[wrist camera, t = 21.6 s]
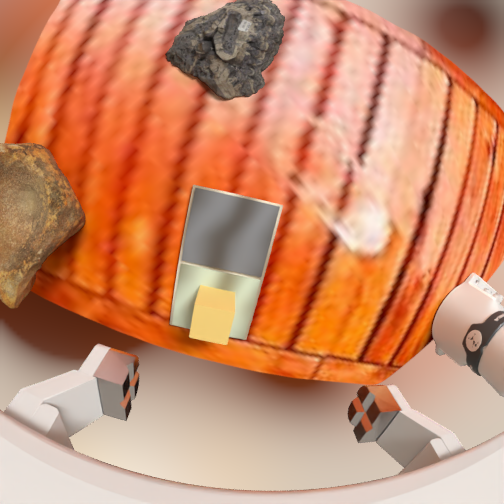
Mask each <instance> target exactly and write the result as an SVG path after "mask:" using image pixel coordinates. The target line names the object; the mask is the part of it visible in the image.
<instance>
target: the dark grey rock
mask: <svg viewBox="0 0 504 504" xmlns="http://www.w3.org/2000/svg"><path fill="white" fill-rule="evenodd" d="M271 2H272V1H270V0H237V1H236V2H231V3H227V4H226V5H225V6H224V7H222V8H219V9H218V10H216V11H214V12H212V13H210V14H208V15H206V16H200V17H198V18H194V19H192V20H189V21H187V22H186V23H185V26H184V27H183V29H182V31H181V32H180V33H179V35H177V36H176V37H175V39H174V43H173V45H172V47H171V48H170V49H169V51H168V52H167V53H166V55H167V60H168V61H171V63H172V64H173V65H175V66H177V67H178V68H180V69H181V70H182V71H183V72H185V73H188V74H193V76H194V77H198V78H199V79H200V80H201V81H203V82H205V83H206V84H207V85H208V86H209V87H210V88H211V89H212V90H213V91H214V92H215V93H216V94H217V95H218V96H221V97H223V98H225V99H233V98H234V97H237V96H244V95H245V96H247V97H250V96H251V95H252V94H255V93H257V92H258V90H259V89H260V88H262V87H264V85H265V82H264V79H263V77H262V75H261V72H262V71H264V70H265V69H266V68H267V67H268V66H269V65H270V64H271V63H272V61H273V59H274V57H273V56H274V55H276V54H277V53H278V49H279V45H280V44H281V43H282V38H283V36H284V34H283V33H284V31H283V30H282V28H283V26H284V21H285V17H284V16H283V15H281V13H280V10H279V9H278V8H277V6H276V5H275V4H273V3H271Z"/></svg>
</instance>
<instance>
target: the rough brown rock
mask: <svg viewBox="0 0 504 504" xmlns="http://www.w3.org/2000/svg"><path fill="white" fill-rule="evenodd" d="M84 224H85V214H84V212H83V210H82V207H81V205H80V203H79V201H78V199H77V197H76V195H75V193H74V191H73V189H72V188H71V186H70V183H69V181H68V180H67V178H66V177H65V176H64V174H63V173H62V172H61V170H60V169H59V168H58V166H57V163H56V161H55V159H54V157H53V155H52V154H51V152H50V150H48V149H46V148H45V147H43V146H42V145H39V144H34V143H23V144H6V143H5V144H1V143H0V299H1V300H2V301H3V302H4V303H5V304H6V305H7V306H8V307H9V308H17V307H18V306H19V304H20V302H21V301H22V300H23V299H24V298H25V297H26V296H27V295H28V293H29V292H30V290H31V289H32V287H33V285H34V282H35V279H36V272H37V270H39V269H40V268H41V265H42V263H43V262H44V261H45V260H46V259H47V257H48V256H49V255H51V254H52V253H53V252H54V251H55V250H56V249H57V248H58V247H59V246H60V245H62V244H63V243H64V242H65V241H66V240H67V239H69V238H70V237H71V236H73V235H74V234H75V233H77V232H78V231H79V230H80V229H81V228H82V227H83V226H84Z"/></svg>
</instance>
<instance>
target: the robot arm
mask: <svg viewBox="0 0 504 504" xmlns="http://www.w3.org/2000/svg"><path fill="white" fill-rule="evenodd" d="M502 299H503V296H502V295H500V294H498V293H497V292H496V291H495V290H494V289H493V288H492V287H491V286H490V285H488V284H487V283H486V282H485V281H484V280H483V279H481V278H480V277H479V276H478V275H477V274H475V273H472V274H471V275H470V276H469V277H468V278H467V279H466V280H465V282H463V283H462V284H461V285H459V286H457V287H456V288H455V289H453V290H452V291H451V292H450V293H449V294H448V296H447V297H446V298H445V299H444V301H443V302H442V304H441V305H440V307H439V309H438V311H437V313H436V316H435V318H434V322H433V327H432V336H433V339H434V341H435V343H436V353H437V354H438V355H443V354H446V355H447V356H449V357H450V358H451V359H452V360H453V361H454V362H456V363H457V364H458V365H459V366H465V365H468V366H469V367H470V368H471V370H472V371H473V372H474V373H476V374H477V375H479V376H482V377H483V378H484V379H485V380H486V381H487V382H488V383H489V384H490V385H491V386H492V387H493V388H494V389H495V390H496V391H497V392H498V393H499V395H501V396H503V397H504V307H503V306H501V305H500V303H501V301H502ZM138 366H139V357H138V356H136V355H132V354H129V353H126V352H123V351H119V350H116V349H113V348H109V347H107V346H104V345H101V344H98V345H96V346H95V347H94V349H93V350H92V352H91V353H90V354H89V356H88V357H87V359H86V360H85V361H84V363H83V365H82V366H81V367H80V369H79V370H78V371H77V370H72V371H69V372H67V373H64V374H61V375H59V376H56V377H53V378H50V379H48V380H45V381H42V382H39V383H36V384H34V385H31V386H28V387H25V388H22V389H21V390H20V391H19V392H18V394H17V395H16V397H15V398H14V399H13V400H12V402H11V403H10V404H9V406H8V407H7V408H6V410H5V411H4V412H3V411H1V410H0V504H504V432H502V433H500V434H499V435H497V436H495V437H493V438H491V439H489V440H487V441H485V442H483V443H481V444H479V445H477V446H475V447H473V448H471V449H469V450H465V449H464V447H463V446H462V444H461V443H460V441H459V440H458V438H457V437H456V435H455V434H454V432H452V431H450V430H448V429H447V428H445V427H443V426H442V425H440V424H438V423H437V422H435V421H433V420H431V419H430V418H428V417H427V416H425V415H423V414H422V413H420V412H418V411H417V410H415V409H411V407H410V406H409V404H408V403H407V401H406V400H405V398H404V397H403V395H402V394H401V392H400V391H399V389H398V387H397V386H396V385H394V384H390V385H369V386H362V387H361V388H360V389H359V390H358V392H357V396H358V397H357V398H355V399H354V400H353V401H352V402H351V404H350V406H349V408H348V419H349V421H350V423H351V424H352V425H354V426H355V428H354V430H353V431H354V434H355V436H356V439H357V441H358V443H363V442H374V441H376V443H377V444H378V445H379V446H380V447H382V448H383V449H384V450H385V451H386V452H387V453H388V454H389V455H391V456H392V457H393V458H394V459H395V460H396V461H397V462H398V463H399V464H400V465H402V466H403V467H404V469H403V470H402V471H401V472H400V473H399V474H398V475H395V476H391V477H387V478H382V479H378V480H373V481H368V482H364V483H357V484H352V485H345V486H338V487H331V488H321V489H309V490H292V491H251V490H234V489H221V488H213V487H204V486H198V485H191V484H185V483H180V482H175V481H169V480H165V479H160V478H156V477H152V476H148V475H144V474H140V473H137V472H133V471H130V470H126V469H123V468H119V467H117V466H114V465H111V464H108V463H105V462H102V461H99V460H97V459H94V458H91V457H89V456H86V455H84V454H81V453H79V452H77V451H75V450H74V448H73V446H72V444H71V441H70V439H69V437H70V436H72V435H74V434H75V433H77V432H78V431H80V430H82V429H83V428H85V427H86V426H88V425H89V424H91V423H92V422H94V421H95V420H97V419H98V418H100V417H102V416H103V414H104V415H108V416H111V417H114V418H118V419H121V420H125V421H126V420H127V418H128V415H129V413H130V410H131V400H133V399H135V397H136V394H137V390H138V386H139V373H138V372H137V369H138Z"/></svg>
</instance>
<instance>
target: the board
mask: <svg viewBox="0 0 504 504" xmlns="http://www.w3.org/2000/svg"><path fill="white" fill-rule="evenodd" d="M282 207H283V205H280V204H276V203H272V202H268V201H264V200H260V199H255V198H251V197H247V196H243V195H238V194H234V193H229V192H225V191H220V190H216V189H211V188H206V187H202V186H197V185H193V189H192V193H191V198H190V203H189V208H188V213H187V218H186V223H185V228H184V234H183V239H182V245H181V251H180V256H179V262H178V269H177V275H176V281H175V288H174V295H173V302H172V310H171V317H170V325H174V326H179V327H183V328H188V329H190V328H191V322H192V316H193V310H194V305H195V301H196V298H197V294H198V291H199V287H200V285H203V286H208V287H212V288H217V289H222V290H227V291H232V292H235V315H234V319H233V323H232V327H231V331H230V335H229V337H232V338H238V339H243V340H246V339H247V335H248V332H249V328H250V325H251V321H252V318H253V314H254V310H255V307H256V303H257V300H258V296H259V293H260V289H261V285H262V282H263V278H264V274H265V271H266V267H267V263H268V260H269V256H270V252H271V249H272V245H273V241H274V237H275V234H276V230H277V226H278V222H279V219H280V215H281V211H282Z"/></svg>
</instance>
